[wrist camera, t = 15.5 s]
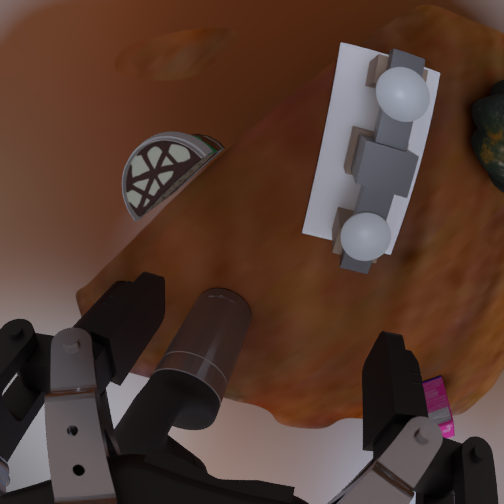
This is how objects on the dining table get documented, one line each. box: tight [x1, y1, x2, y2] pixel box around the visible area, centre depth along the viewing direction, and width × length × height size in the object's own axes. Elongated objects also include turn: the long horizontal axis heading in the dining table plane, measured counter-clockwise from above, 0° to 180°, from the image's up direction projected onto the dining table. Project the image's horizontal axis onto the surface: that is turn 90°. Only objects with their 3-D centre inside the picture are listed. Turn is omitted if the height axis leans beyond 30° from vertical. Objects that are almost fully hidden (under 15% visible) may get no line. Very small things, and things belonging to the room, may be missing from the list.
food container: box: [122, 132, 225, 221], centre depth 36 cm, size 12×6×10 cm, turn 130°
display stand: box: [302, 43, 440, 263], centre depth 31 cm, size 24×12×8 cm, turn 172°
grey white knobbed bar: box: [340, 49, 430, 274], centre depth 28 cm, size 22×5×6 cm, turn 172°
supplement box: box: [422, 376, 454, 439], centre depth 45 cm, size 6×6×12 cm
